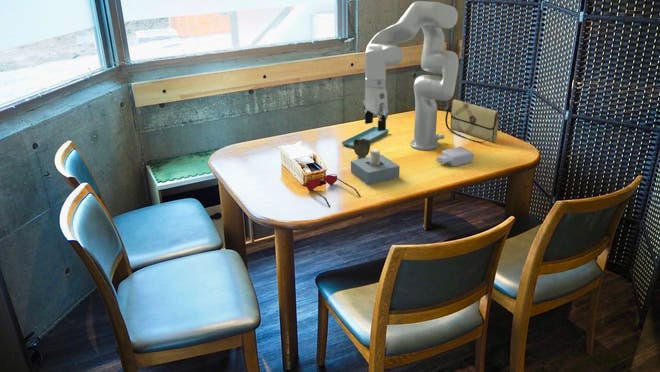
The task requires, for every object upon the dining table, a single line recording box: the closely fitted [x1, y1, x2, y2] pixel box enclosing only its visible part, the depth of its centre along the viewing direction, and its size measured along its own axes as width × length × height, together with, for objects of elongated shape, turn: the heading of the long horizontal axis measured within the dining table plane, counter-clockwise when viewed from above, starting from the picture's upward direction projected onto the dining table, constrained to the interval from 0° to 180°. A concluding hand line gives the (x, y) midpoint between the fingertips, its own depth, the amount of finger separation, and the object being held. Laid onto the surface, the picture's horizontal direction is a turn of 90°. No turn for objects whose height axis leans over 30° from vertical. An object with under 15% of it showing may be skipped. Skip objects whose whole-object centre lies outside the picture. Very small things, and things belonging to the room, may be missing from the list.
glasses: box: [305, 173, 362, 208], centre depth 202 cm, size 14×16×5 cm
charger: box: [435, 146, 474, 167], centre depth 227 cm, size 5×9×15 cm
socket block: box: [350, 154, 401, 186], centre depth 217 cm, size 14×14×5 cm
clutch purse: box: [445, 98, 501, 144], centre depth 252 cm, size 30×7×15 cm, turn 36°
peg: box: [369, 149, 381, 167], centre depth 216 cm, size 4×4×10 cm
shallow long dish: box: [341, 126, 390, 149], centre depth 255 cm, size 26×9×2 cm, turn 141°
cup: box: [353, 138, 372, 159], centre depth 233 cm, size 8×7×8 cm
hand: (375, 126), depth 210 cm, fingers open, 9 cm apart
